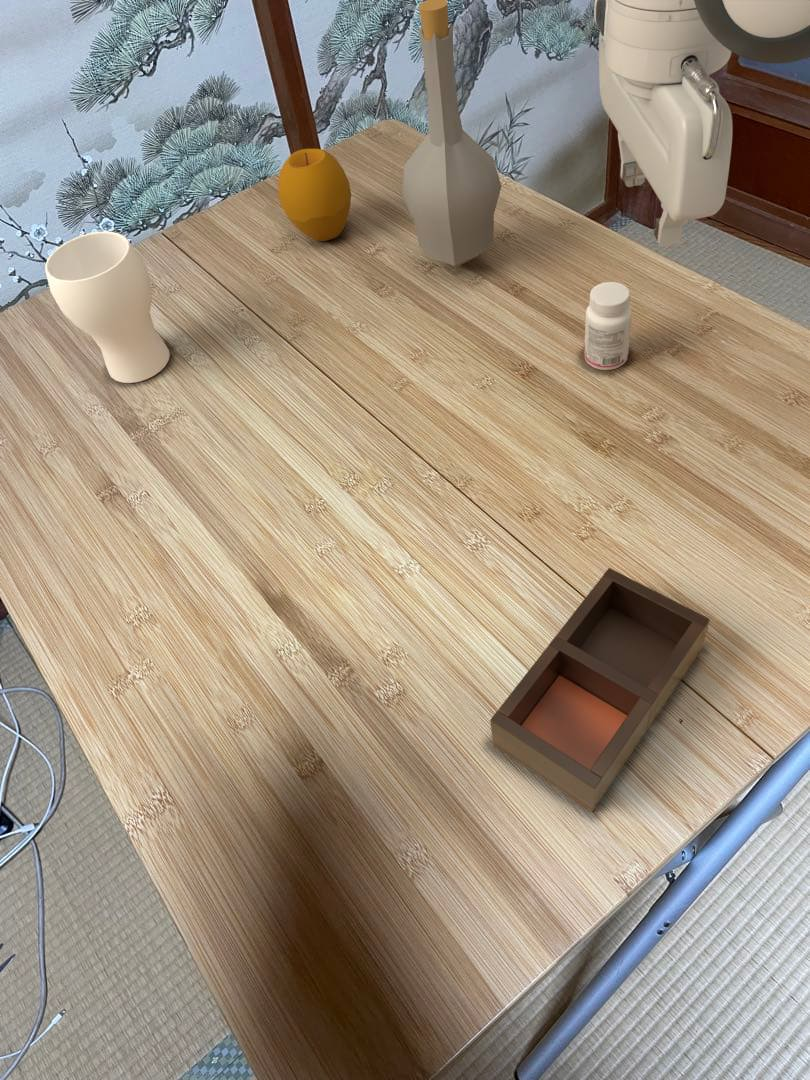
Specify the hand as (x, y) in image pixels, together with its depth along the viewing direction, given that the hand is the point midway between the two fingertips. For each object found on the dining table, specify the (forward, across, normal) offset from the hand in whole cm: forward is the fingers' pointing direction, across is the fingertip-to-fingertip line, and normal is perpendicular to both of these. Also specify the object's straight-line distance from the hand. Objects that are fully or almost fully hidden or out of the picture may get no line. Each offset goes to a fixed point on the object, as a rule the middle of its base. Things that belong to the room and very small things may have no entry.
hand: (648, 210), depth 70 cm
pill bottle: (+22, +8, 0) cm, 24 cm away
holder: (+22, -32, +12) cm, 41 cm away
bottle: (+22, +30, +13) cm, 40 cm away
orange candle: (+23, +43, +30) cm, 57 cm away
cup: (+23, +23, +54) cm, 63 cm away
